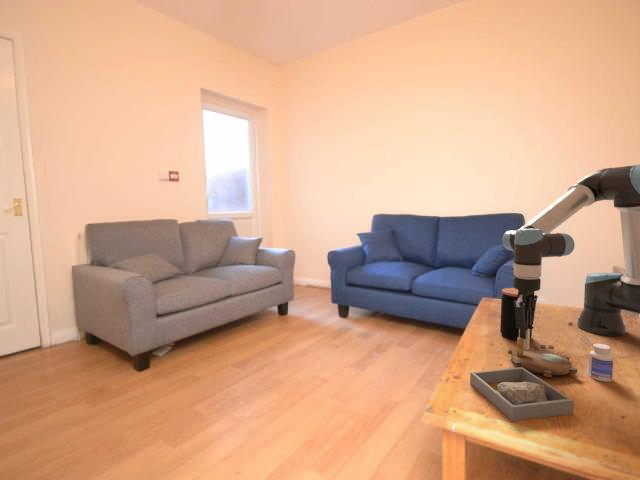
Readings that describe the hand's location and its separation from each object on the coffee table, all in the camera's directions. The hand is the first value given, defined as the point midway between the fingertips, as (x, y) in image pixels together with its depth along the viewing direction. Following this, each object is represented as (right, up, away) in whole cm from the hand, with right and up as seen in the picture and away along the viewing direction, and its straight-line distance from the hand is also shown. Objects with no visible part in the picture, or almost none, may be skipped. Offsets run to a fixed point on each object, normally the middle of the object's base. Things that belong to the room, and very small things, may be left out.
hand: (523, 347), depth 112 cm
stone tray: (-14, -7, -20) cm, 25 cm away
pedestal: (+3, -5, -3) cm, 7 cm away
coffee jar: (+10, -3, +22) cm, 24 cm away
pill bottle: (+16, -6, -10) cm, 20 cm away
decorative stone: (-13, -8, -21) cm, 26 cm away
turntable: (+3, -4, -3) cm, 6 cm away
